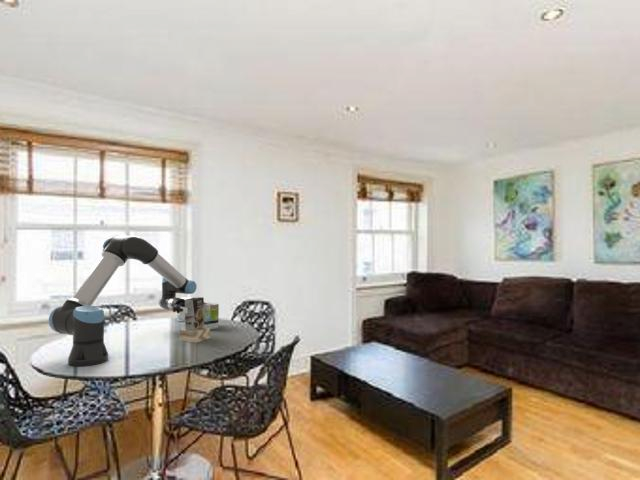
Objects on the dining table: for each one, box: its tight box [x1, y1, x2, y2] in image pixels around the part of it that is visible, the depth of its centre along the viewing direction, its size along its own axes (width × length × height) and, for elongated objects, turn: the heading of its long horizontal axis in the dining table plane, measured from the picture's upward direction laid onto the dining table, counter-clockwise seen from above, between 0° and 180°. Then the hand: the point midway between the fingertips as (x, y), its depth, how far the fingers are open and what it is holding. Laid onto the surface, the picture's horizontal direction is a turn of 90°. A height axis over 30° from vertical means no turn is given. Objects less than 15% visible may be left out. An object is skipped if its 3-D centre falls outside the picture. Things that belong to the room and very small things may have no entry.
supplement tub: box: [176, 297, 191, 323], centre depth 266 cm, size 10×10×15 cm
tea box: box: [204, 301, 220, 330], centre depth 245 cm, size 15×10×15 cm, turn 49°
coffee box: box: [184, 296, 205, 330], centre depth 216 cm, size 9×6×16 cm
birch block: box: [179, 327, 211, 344], centre depth 216 cm, size 11×11×6 cm
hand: (198, 309), depth 214 cm, fingers open, 13 cm apart
